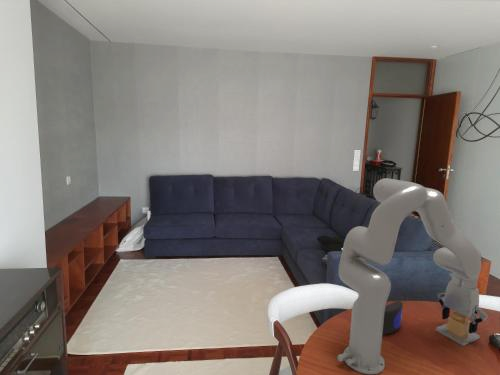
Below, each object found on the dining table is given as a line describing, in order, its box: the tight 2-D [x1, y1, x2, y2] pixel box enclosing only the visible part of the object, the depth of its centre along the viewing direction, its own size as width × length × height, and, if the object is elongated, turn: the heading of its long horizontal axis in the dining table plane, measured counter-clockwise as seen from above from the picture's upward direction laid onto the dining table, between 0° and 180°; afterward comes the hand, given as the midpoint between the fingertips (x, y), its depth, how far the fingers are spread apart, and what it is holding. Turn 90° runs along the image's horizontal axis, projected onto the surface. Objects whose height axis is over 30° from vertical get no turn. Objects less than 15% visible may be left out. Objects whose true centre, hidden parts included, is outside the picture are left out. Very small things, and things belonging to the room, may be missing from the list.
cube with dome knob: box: [446, 311, 471, 337], centre depth 119 cm, size 5×5×7 cm
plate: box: [435, 323, 481, 347], centre depth 120 cm, size 10×10×4 cm
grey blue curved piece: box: [382, 300, 404, 336], centre depth 121 cm, size 16×5×9 cm, turn 123°
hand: (458, 325), depth 119 cm, fingers open, 9 cm apart
